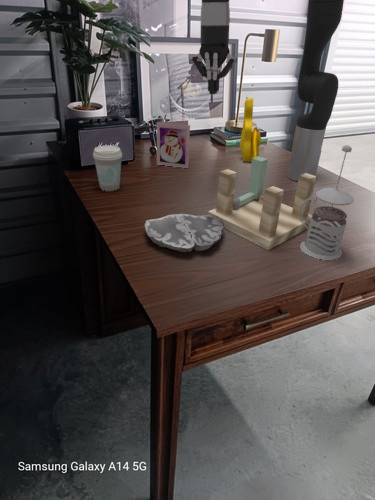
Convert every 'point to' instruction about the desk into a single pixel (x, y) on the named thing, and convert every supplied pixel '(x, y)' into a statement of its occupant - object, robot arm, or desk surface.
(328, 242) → the french press
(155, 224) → the brain slice
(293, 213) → the stool seat
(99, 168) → the coffee cup
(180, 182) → the desk surface
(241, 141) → the figure statuette
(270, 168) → the desk surface
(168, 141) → the greeting card
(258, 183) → the hinged leg
